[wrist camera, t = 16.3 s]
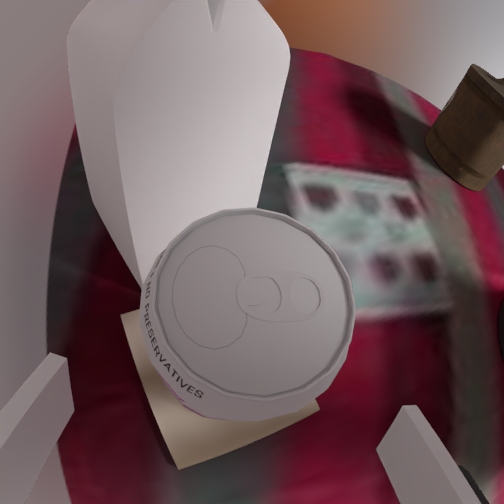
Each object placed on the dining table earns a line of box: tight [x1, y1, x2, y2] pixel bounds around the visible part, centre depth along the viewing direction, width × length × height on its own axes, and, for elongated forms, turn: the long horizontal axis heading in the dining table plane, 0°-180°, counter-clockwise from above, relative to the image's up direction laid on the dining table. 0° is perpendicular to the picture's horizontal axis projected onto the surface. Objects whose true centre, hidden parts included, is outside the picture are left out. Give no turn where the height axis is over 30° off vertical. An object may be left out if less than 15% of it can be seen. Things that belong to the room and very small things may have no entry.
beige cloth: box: [121, 309, 320, 470], centre depth 23 cm, size 13×12×1 cm
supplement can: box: [139, 207, 356, 421], centre depth 17 cm, size 8×8×15 cm
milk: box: [67, 0, 290, 289], centre depth 19 cm, size 12×12×26 cm
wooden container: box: [425, 64, 504, 191], centre depth 39 cm, size 15×15×22 cm
